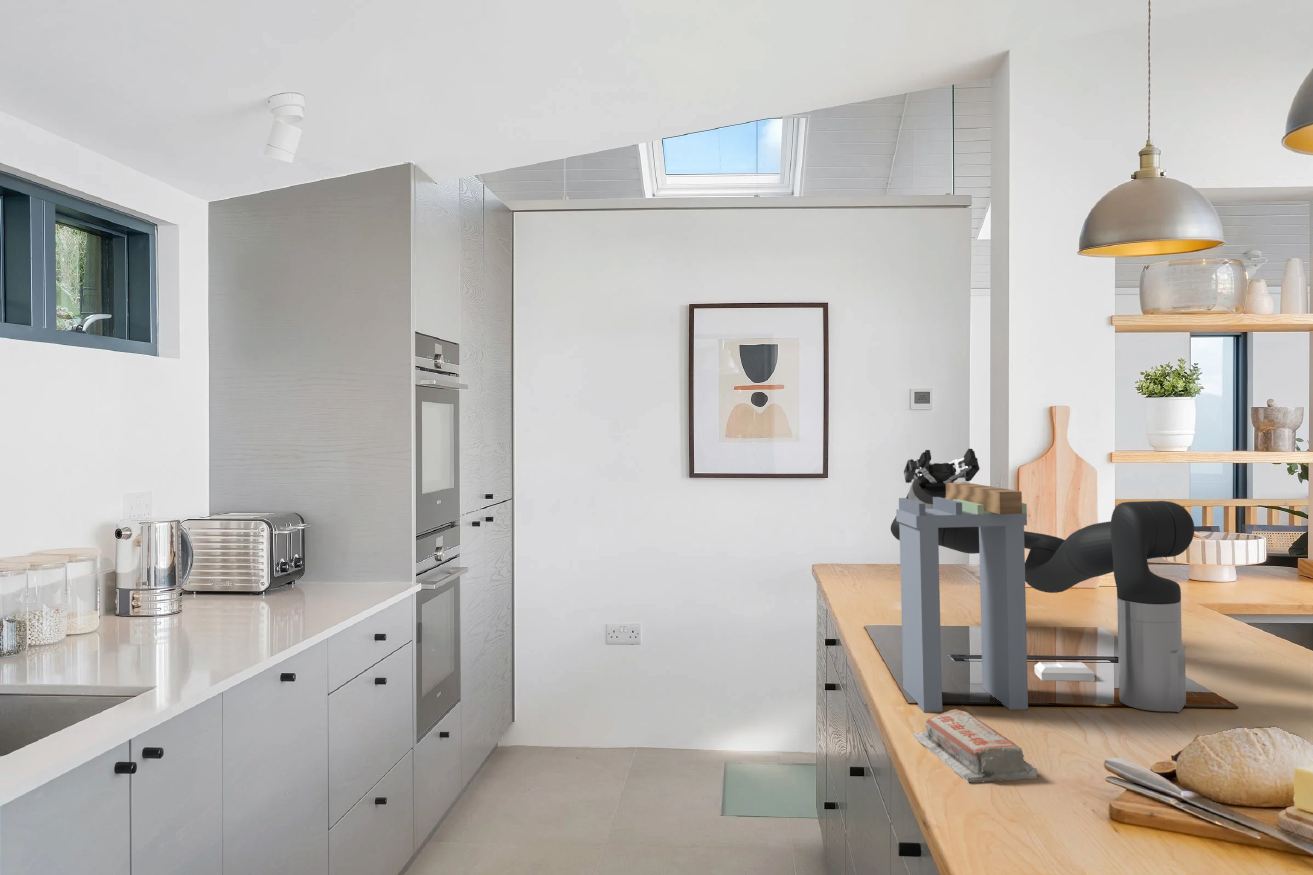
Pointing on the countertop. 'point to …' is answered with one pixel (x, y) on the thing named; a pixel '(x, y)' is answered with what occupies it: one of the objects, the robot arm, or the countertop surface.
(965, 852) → the countertop surface
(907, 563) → the bridge
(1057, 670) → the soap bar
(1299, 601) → the countertop surface
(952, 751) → the packaged product
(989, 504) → the wooden square beam
